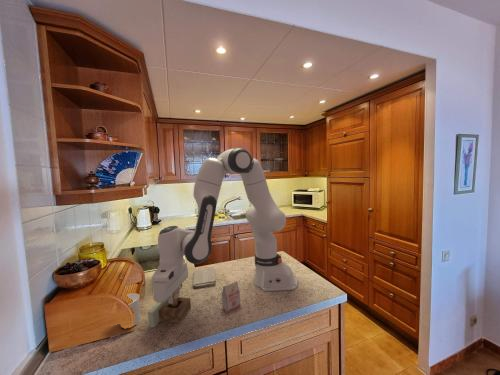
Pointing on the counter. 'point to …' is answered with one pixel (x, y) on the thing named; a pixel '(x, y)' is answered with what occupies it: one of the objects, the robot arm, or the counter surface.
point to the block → (175, 311)
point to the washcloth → (204, 278)
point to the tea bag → (231, 296)
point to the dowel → (175, 299)
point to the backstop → (155, 314)
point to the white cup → (135, 306)
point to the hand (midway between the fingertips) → (174, 299)
